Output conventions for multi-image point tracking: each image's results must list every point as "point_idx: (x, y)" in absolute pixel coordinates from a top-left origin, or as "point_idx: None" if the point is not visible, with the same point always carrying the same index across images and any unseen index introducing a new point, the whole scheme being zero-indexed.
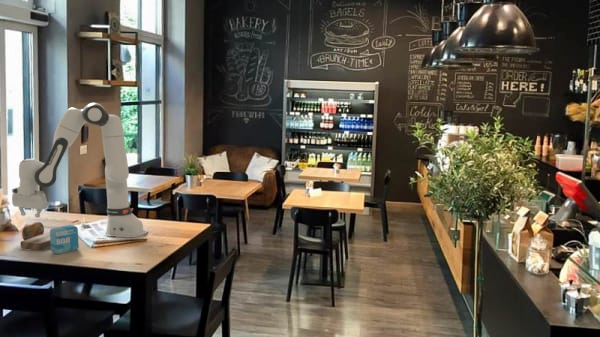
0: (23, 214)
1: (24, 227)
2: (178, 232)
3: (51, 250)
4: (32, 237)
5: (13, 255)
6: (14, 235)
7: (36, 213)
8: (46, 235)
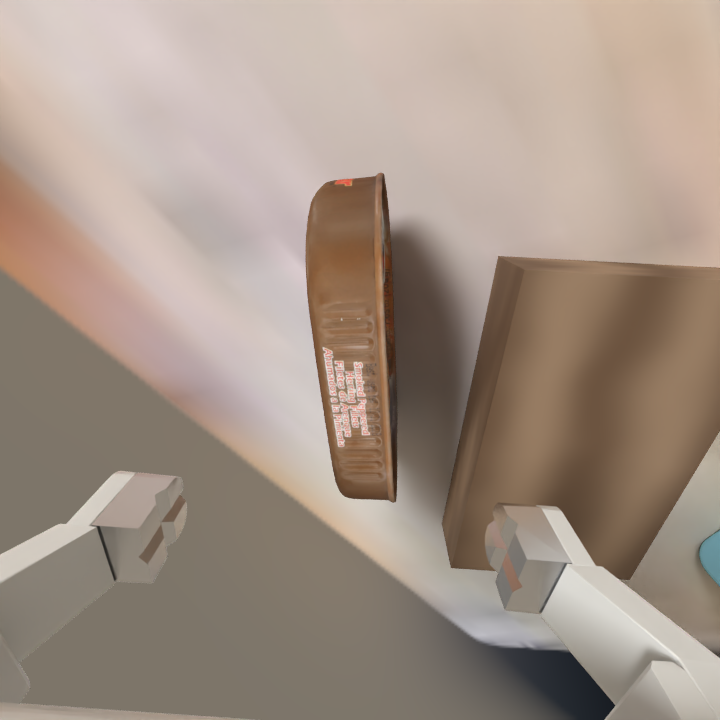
0: (174, 532)
1: (348, 493)
2: None
3: (709, 571)
4: (387, 371)
5: (483, 607)
6: (85, 254)
7: (557, 633)
8: (567, 399)
